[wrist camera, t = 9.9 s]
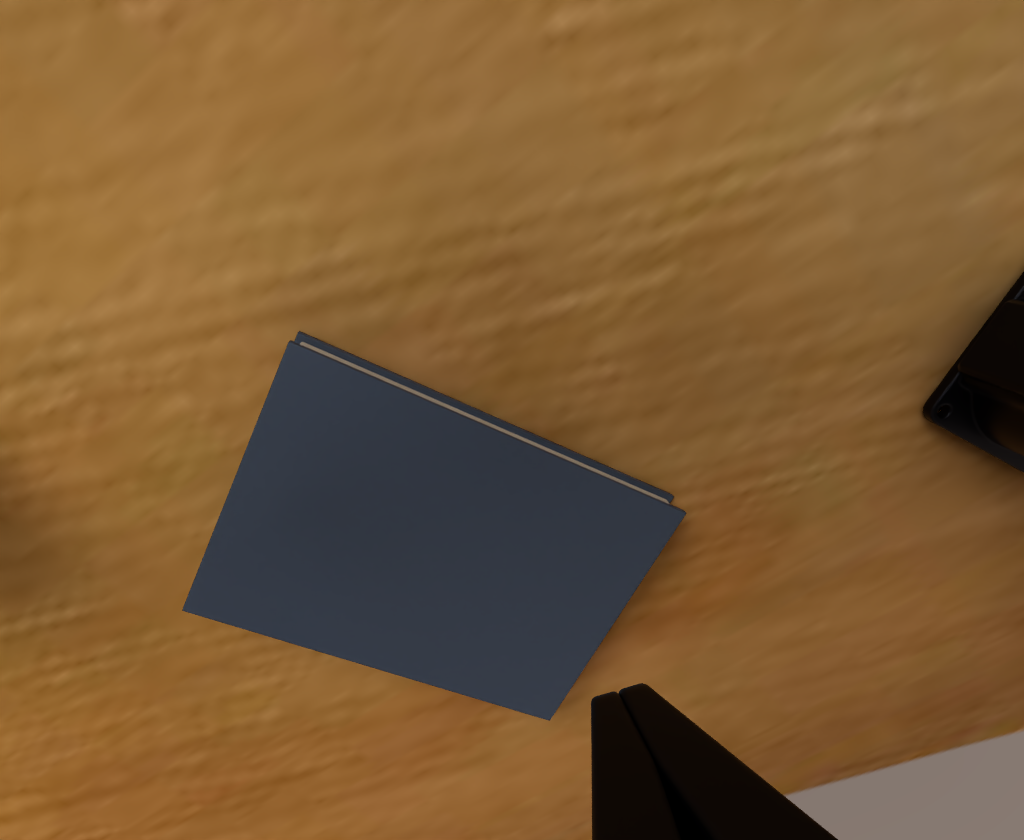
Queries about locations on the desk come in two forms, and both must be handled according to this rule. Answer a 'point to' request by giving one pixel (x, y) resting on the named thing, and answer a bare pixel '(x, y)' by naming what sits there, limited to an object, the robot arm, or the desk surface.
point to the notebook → (425, 536)
